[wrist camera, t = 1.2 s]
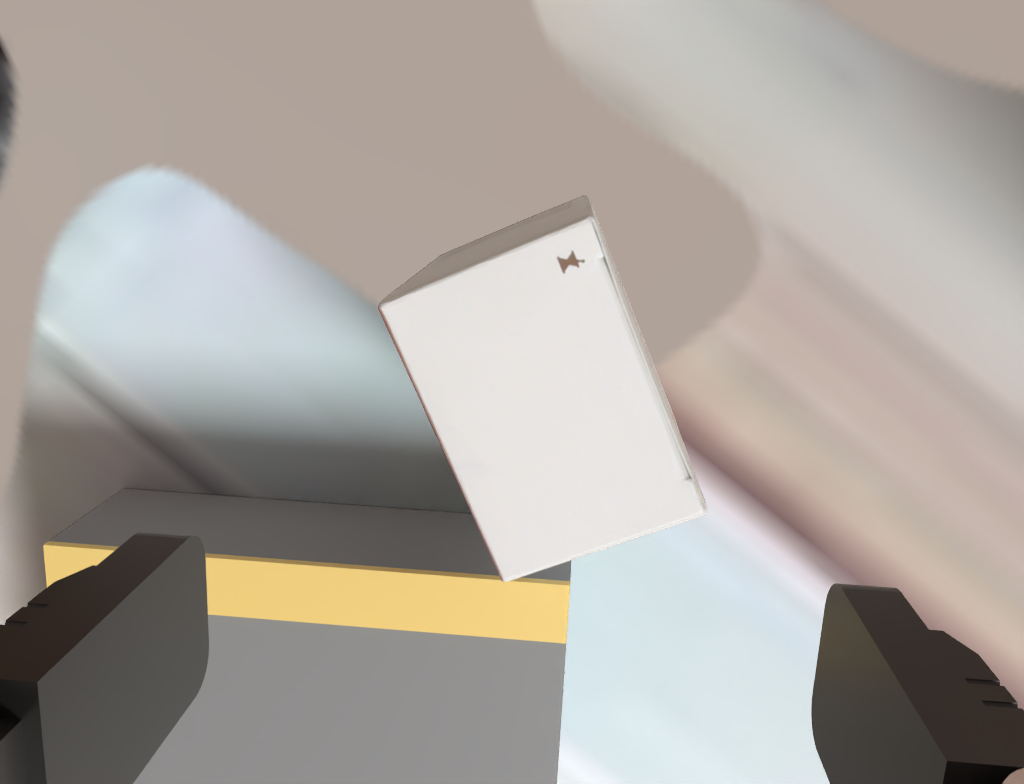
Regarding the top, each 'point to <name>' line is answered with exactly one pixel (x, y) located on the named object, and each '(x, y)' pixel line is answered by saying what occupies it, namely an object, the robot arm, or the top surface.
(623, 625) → the top surface
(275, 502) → the loading dock
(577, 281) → the small box
